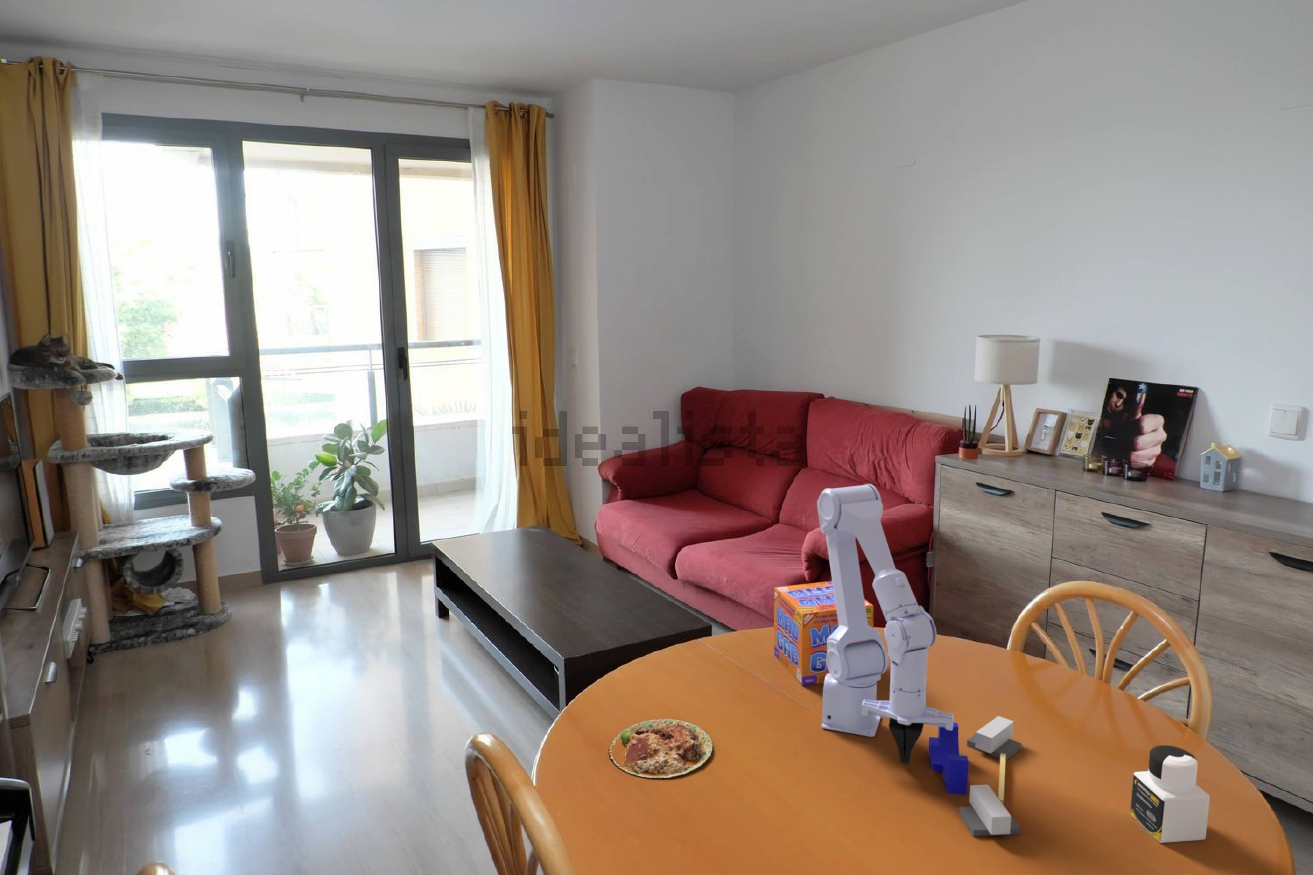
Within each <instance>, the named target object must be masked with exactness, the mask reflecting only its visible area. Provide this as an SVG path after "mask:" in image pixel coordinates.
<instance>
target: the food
mask: <svg viewBox="0 0 1313 875" xmlns="http://www.w3.org/2000/svg"><path fill="white" fill-rule="evenodd" d="M632 731H635V734H634V733H632ZM618 738H621V740H622V742H623V743H622V742H621V743H622V744H623V745H624V744H626V746H625V747H627V751H626V753H625V756H624V757H625V759H624V758H623V759H624V760H623V761H622V763H623V766H624V768H623V767H618V769H620V770H623V771H624V772H626V773H627V774H631V775H633V776H636V777H641V778H645V779H646V778H647V779H670V778H675V777H679V776H680V777H681V776H682V775H685V774H688V773H690V772H693V771H694V770H696V769H698V768H699V767H701V766H703V765H704V763H705V762H706V761H707V760H708V759H709V758H710V757H711V755H712V753H713V752H712V751H713V744H712V743H713V742H712V738H711V736H710V735H709V734H708V732H707V731H706V730H704V729H702V728H701V727H700V726H698V725H696V724H694V723H693V722H692V723H691V722H689V721H685V720H681V719H678V718H672V719H669V718H660V719H659V718H658V719H649V720H644V721H641V722H638V723H635V724H632V725H630V726H628V727H626V728H625V729H624V730H623V731H620V732H619V733H618V734H617V735H616V736H615V737H613V740H612V741H611V742H610V745H611V746H612V745H615V743H616V740H618ZM609 747H610V746H609ZM609 747H608V753H609V752H612V750H611V748H612V747H610V748H609ZM610 755H612V754H610ZM609 759H610V760H611V759H614V758H613V756H611V757H610V756H609ZM691 760H698V761H697V762H696V763H695V764H694V765H692V764H691V763H687V761H691ZM612 762H613V763H614V764H613V765H615V766H620V765H619V764H617V763H616V761H614V760H613V761H612ZM626 768H630V769H629V770H632V772H631V771H628V769H626ZM635 771H636V772H637V773H648V774H649V773H650V774H651V773H653V774H658V773H659V774H661V773H662V774H663V773H664V774H667V775H657V776H655V775H653V776H652V775H648V774H646V775H645V774H636V772H635Z"/></svg>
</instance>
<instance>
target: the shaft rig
mask: <svg viewBox="0 0 1313 875" xmlns="http://www.w3.org/2000/svg"><path fill="white" fill-rule="evenodd" d="M1014 724H1015V721H1014V720H1011V719H1008V718H1005V717H1002V716H1000V715H997V716H996V717H995V718H994V719H992V720H991V721H989V722H988V723H986V724H985V725H983V727H981V728H980V729H978V730H977V731H976V732H975V734H974V735H972V736H971V737H969V738H968V739H967V740H966V741H967V743H966V746H968V745H969V746H968V747H970V746H971V747H970V748H972V747H973V749H974V750H978V751H980V752H983V753H985V752H986V753H985V754H987V753H988V754H987V755H990V756H992V757H995V758H998V759H999V777H998V794H997V795H996V793H995V792H994V791H993V789H992V788H991V787H990V785H989V784H973V785H972V784H971V785H970V786H969V801H968V802H969V804H970V805H971V806H959V807H958V814H959V816H960V818H961V819H962V822H963V823H964V824H965V826H966V827H967V829H968V830H969V832H970V834H971V835H972V836H973V837H984V836H985V837H986V836H989V837H990V836H1006V835H1007V836H1009V835H1010V836H1011V835H1012V836H1013V835H1021V826H1020V825H1019V824H1018V822H1017V821H1016V820H1015V818H1014V817H1013V816H1012V814H1011V812H1010V811H1009V810H1008V809H1007V807H1006V806H1005V804H1004V799H1005V781H1006V780H1005V779H1006V778H1005V777H1006V762H1007V761H1008V760H1009V759H1011V758H1012V757H1013V756H1014V755H1015V754H1017V753H1018V752H1019V751H1020V750H1022V743H1021V742H1019V741H1016V740H1013V739H1012V738H1013V737H1014V727H1015V726H1014ZM1016 752H1017V753H1016Z"/></svg>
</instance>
